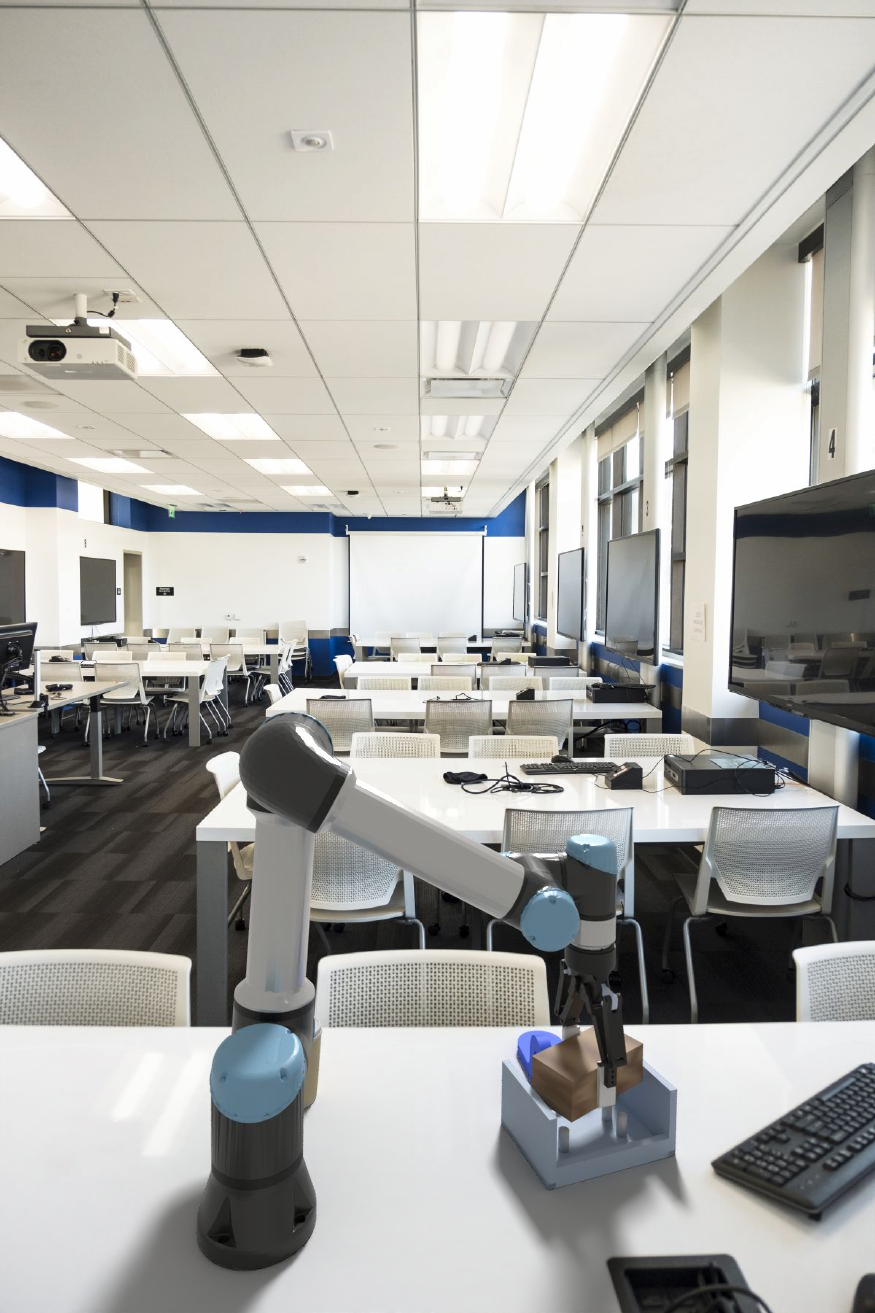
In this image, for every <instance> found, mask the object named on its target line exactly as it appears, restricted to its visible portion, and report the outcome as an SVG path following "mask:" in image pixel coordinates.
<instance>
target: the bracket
mask: <svg viewBox="0 0 875 1313" xmlns="http://www.w3.org/2000/svg"><path fill="white" fill-rule="evenodd" d="M581 1032H582V1030H580V1033H581ZM560 1042H562V1037H560V1036H558V1035H556V1034H555V1033H552V1032H549V1031H546V1030H529V1031H526V1032H523V1033H521V1034H520V1035H519V1037H518V1038H517V1051H518V1052H517V1051H516V1052H517V1055H518V1054H519V1055H518V1056H520V1057H519V1059H520V1058H521V1059H520V1061H521V1060H522V1061H521V1063H522V1065H523V1067H524V1066H525V1067H524V1069H525V1068H526V1069H525V1071H526V1073H527V1075H529V1076H528V1077H530V1078H529V1079H531V1080H530V1082H531V1081H532V1056H533V1055H535V1054H537V1053H539V1052H541V1051H543V1050H545V1049H547V1048H549V1047H551V1046H554V1045H556V1044H558V1043H560Z"/></svg>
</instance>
